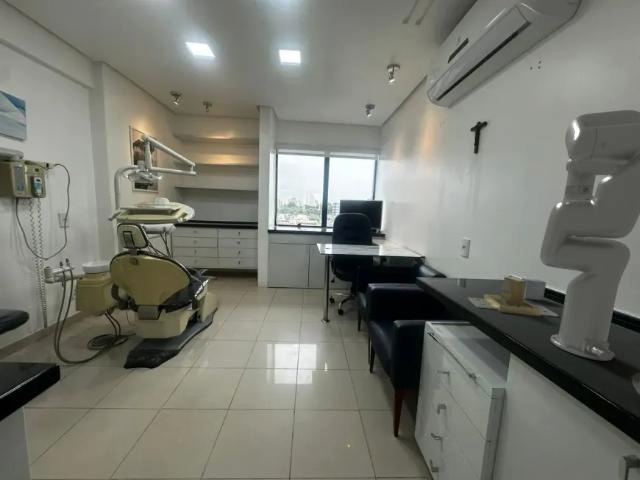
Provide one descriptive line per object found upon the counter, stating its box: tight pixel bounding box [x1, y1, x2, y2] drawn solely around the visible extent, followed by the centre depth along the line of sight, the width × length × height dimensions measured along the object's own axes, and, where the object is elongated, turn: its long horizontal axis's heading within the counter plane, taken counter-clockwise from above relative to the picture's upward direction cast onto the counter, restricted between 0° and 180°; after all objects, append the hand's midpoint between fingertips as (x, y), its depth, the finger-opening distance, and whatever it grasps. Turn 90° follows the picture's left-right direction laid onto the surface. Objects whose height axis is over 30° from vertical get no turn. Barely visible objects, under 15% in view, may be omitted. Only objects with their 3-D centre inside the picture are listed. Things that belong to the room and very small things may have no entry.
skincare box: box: [499, 276, 527, 307], centre depth 106 cm, size 6×4×12 cm
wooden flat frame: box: [467, 293, 559, 318], centre depth 107 cm, size 14×28×2 cm, turn 79°
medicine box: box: [521, 277, 547, 301], centre depth 121 cm, size 8×4×9 cm, turn 84°
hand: (570, 237), depth 100 cm, fingers open, 9 cm apart
